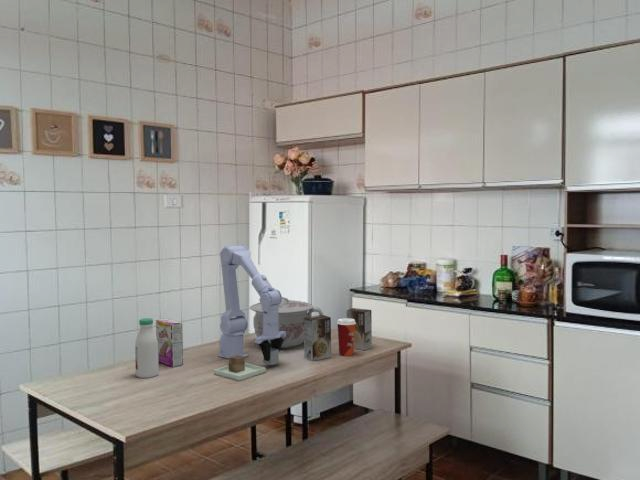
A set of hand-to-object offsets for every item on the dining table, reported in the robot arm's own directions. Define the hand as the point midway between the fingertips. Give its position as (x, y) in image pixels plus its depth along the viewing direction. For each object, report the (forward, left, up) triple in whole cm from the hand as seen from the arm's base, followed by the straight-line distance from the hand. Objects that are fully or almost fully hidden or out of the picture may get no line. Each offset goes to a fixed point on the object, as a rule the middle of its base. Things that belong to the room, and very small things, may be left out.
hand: (271, 359), depth 211 cm
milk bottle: (-27, -35, -3) cm, 44 cm away
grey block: (0, 0, -2) cm, 2 cm away
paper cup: (+12, +31, -3) cm, 33 cm away
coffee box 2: (+10, +43, -3) cm, 44 cm away
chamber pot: (-19, +27, -3) cm, 33 cm away
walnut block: (-5, -13, -2) cm, 14 cm away
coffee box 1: (+6, +20, -3) cm, 21 cm away
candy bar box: (-33, -21, -3) cm, 39 cm away
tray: (-2, -14, -3) cm, 14 cm away
